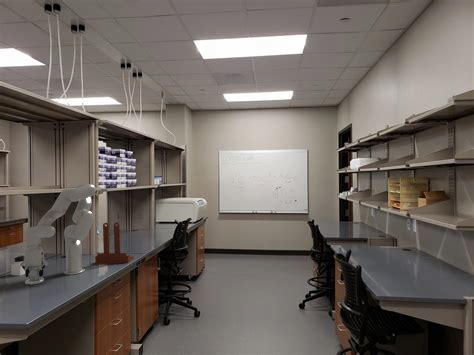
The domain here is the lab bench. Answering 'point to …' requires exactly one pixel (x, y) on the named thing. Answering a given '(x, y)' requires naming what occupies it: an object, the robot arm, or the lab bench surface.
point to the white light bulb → (34, 274)
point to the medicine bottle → (17, 266)
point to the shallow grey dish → (34, 281)
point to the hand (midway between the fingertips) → (34, 276)
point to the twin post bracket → (116, 256)
